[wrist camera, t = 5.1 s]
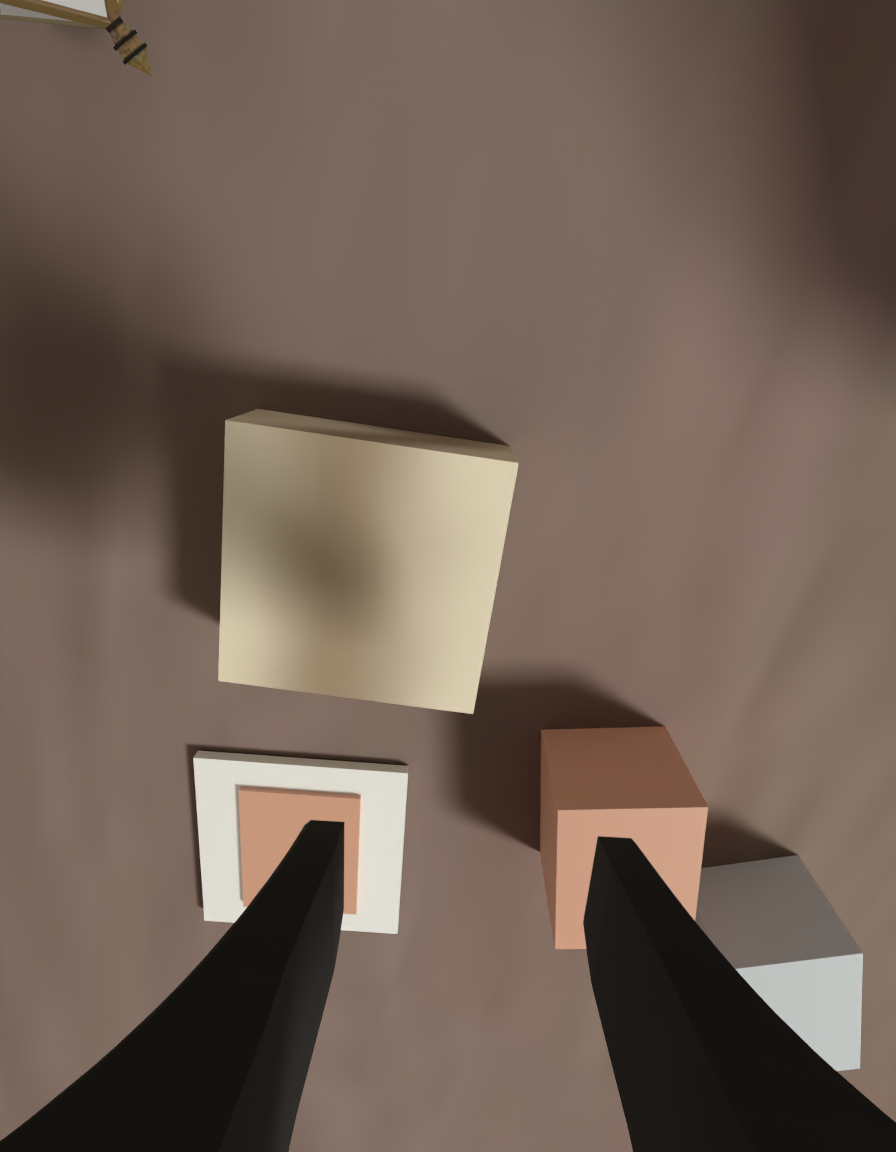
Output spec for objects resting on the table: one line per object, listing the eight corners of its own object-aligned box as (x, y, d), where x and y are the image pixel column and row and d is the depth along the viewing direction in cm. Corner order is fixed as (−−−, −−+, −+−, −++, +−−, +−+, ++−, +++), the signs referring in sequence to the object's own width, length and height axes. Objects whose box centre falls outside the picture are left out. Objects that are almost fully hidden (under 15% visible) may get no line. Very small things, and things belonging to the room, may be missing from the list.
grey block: (796, 852, 23) (862, 953, 19) (798, 956, 25) (859, 1068, 21) (681, 868, 23) (724, 970, 19) (690, 970, 25) (732, 1082, 21)
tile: (408, 766, 22) (407, 777, 21) (398, 924, 24) (396, 938, 24) (197, 750, 22) (190, 761, 21) (208, 911, 24) (202, 924, 23)
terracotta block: (664, 724, 21) (708, 807, 17) (654, 847, 23) (692, 947, 19) (540, 727, 21) (558, 810, 18) (539, 849, 23) (555, 949, 19)
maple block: (508, 444, 18) (518, 463, 16) (470, 663, 21) (473, 714, 18) (260, 407, 18) (225, 420, 15) (250, 634, 21) (218, 680, 18)
